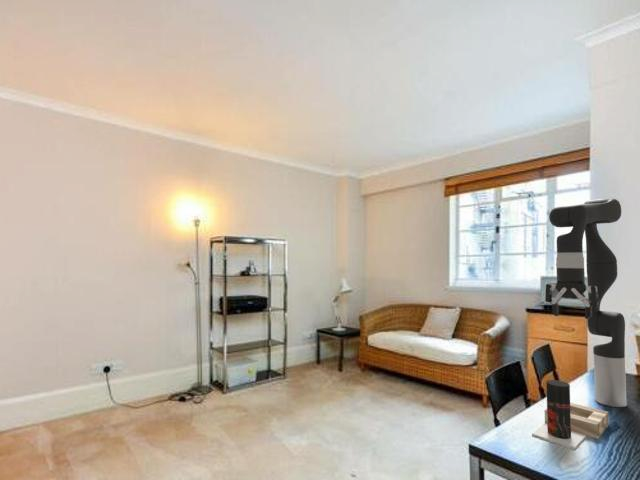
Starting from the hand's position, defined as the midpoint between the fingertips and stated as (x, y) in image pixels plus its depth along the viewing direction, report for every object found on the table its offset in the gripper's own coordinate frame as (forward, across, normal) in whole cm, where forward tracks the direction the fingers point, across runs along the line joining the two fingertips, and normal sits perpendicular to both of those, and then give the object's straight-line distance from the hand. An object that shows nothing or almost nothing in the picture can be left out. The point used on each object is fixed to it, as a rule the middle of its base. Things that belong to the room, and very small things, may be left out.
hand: (571, 317), depth 121 cm
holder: (+34, 0, -2) cm, 34 cm away
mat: (+34, +1, +12) cm, 36 cm away
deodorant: (+34, +1, +12) cm, 36 cm away
